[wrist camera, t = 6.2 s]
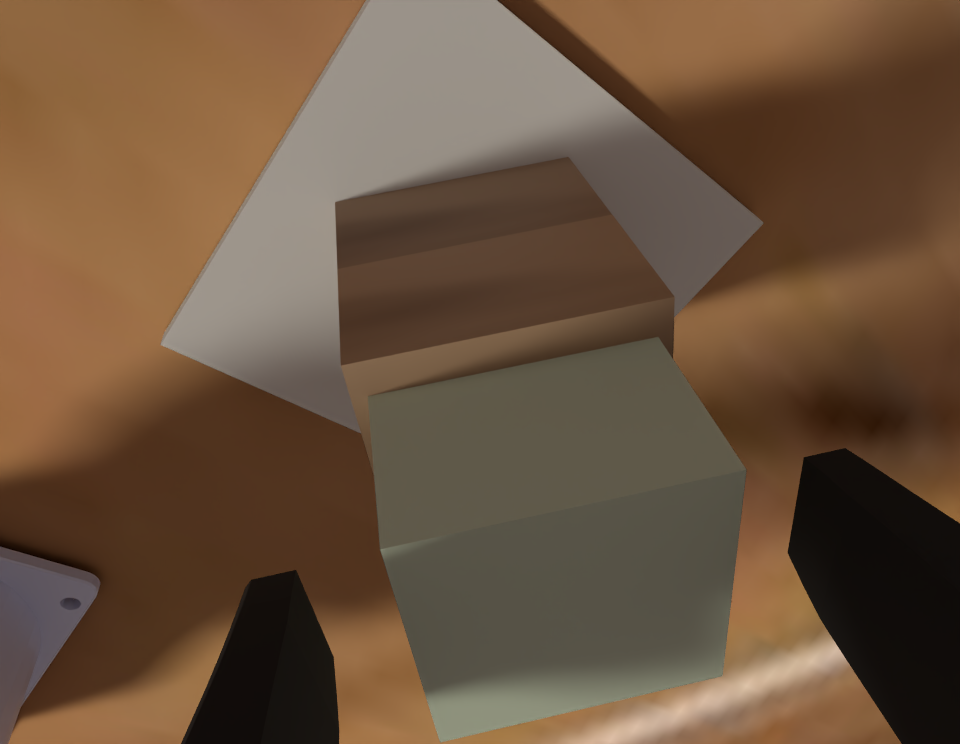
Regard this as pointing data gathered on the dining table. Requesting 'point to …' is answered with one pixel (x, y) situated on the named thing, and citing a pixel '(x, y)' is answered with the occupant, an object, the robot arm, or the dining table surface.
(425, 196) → the tower base
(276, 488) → the dining table surface
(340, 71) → the felt mat
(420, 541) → the pale green cube
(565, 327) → the tower top
